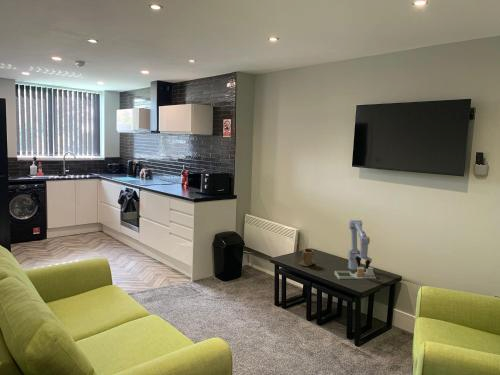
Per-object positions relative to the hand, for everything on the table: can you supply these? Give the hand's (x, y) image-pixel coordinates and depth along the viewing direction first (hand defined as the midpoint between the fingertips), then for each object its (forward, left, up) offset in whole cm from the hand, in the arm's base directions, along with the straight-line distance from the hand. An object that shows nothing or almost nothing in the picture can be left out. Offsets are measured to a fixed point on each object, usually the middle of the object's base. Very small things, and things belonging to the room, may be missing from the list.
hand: (362, 267), depth 313 cm
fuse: (-4, +7, -9) cm, 13 cm away
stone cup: (-34, -38, -10) cm, 52 cm away
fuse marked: (-4, 0, -9) cm, 10 cm away
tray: (-4, -14, -10) cm, 17 cm away
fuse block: (-4, +3, -10) cm, 11 cm away
